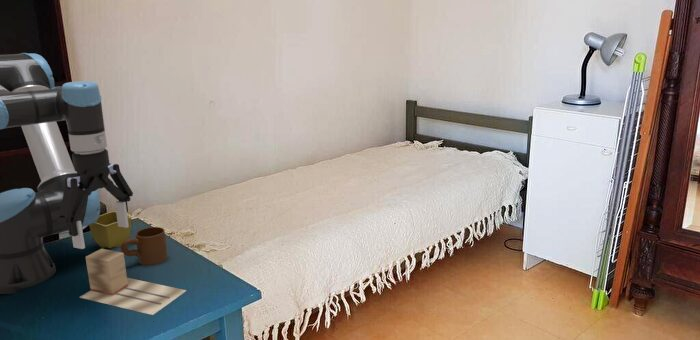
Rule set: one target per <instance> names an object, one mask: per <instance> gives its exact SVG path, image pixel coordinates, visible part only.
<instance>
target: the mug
mask: <svg viewBox="0 0 700 340" xmlns="http://www.w3.org/2000/svg"><path fill="white" fill-rule="evenodd" d="M128 245H134V246H135V245H136V249H128ZM120 252H122V253H124V256H126V257H136V258H138V263H139V265H142V266H147V267H148V266H156V265H160V264H163V263H164V262H166V261H167V260H168V258H169V257H168V247H167V236H166V232H165V229H164V228H163V227H161V226H160V227H159V226H150V227H144V228H141V229H139V230H138V231H136V233H135V238H133V237H131V238H130V237H129V239H126V240H125V241H123V243H122V244H121V247H120Z"/></svg>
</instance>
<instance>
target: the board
mask: <svg viewBox="0 0 700 340" xmlns="http://www.w3.org/2000/svg"><path fill="white" fill-rule="evenodd" d="M127 282H128V286H127V287H126V288H124V289H123V290H121V291H119V292H118V293H116V294H115V295H108V294H104V293H100V292H95V291H91V290H89V291H87V292H86V293H84V294H82V295H80V296H79V298H80V299H84V300H88V301H92V302H97V303H100V304H101V303H102V304H107V305H110V306H114V307H118V308H121V309H126V310H131V311H134V312H138V313H142V314H146V315H147V314H148V315H151V316H154V315H155V314H156V313H158V312H159V311H161V310H162V309H163V308H165V307H166V306H168V305H169V304H171V302H173V301H174V300H176V299H177V298H179V297H180V296H181V295H183V294H184V293H186V291H187V290H186V289H182V288H177V287H172V286H167V285H163V284H159V283H155V282H149V281H145V280H144V281H143V280H139V279H135V278H130V277H127Z"/></svg>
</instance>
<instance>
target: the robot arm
mask: <svg viewBox="0 0 700 340" xmlns="http://www.w3.org/2000/svg"><path fill="white" fill-rule="evenodd" d="M104 120H105V119H104V113H103V105H102V96H101V92H100V88H99V85H98V84H97V83H96V82H95V81H92V80H91V81H88V80H87V81H86V80H84V81H83V80H82V81H81V80H80V81H69V82H65V83H63V84H62V85H61V86H55V79H54V77H53V71H52V69H51V67H50V65H49V64H48V61H47V60H46V59H45V58H44V57H43V56H42V55H40V54H37V53H27V52H21V53H15V54H14V53H13V54H0V130H4V129H9V128H15V127H16V128H17V127H21V129H22V132H23V135H24V137H25V138H24V139H25V140H26V143H27V146H28V148H29V151H30V154H31V156H32V160H33V163H34V165H35V167H36V170H37V173H38V175H39V179H40V182H39V184H38V186H37V192H35V191H34V190H33V189H32V188H29V187H22V188H13V189H9V190H6V191H2V192H0V295H12V294H15V293H17V292H19V291H21V290H23V289H26V288H30V287H34V286H37V285H38V284H41V283H43V282H45V281H47V280H49V279H50V278H51V277H53V275H54V274H55V273H56V272H57V270H56V269H57V268H56V265H55V262H54V261H53V260H52V258H51V256H50V255H49V253H48V252H47V250H46V248H45V245H44V240H43V239H44V237H48V236H53V235H57V234H60V233H64V232H67V231H68V235H69V236H70V237H71V239H72V240H71V241H72V246H73V248H76V249H80V250H83V249H85V248H86V245H85V239H84V232H83V228H84V227H86V226H87V227H88V226H89V225H90V224H93V223H95V222H96V221H97V220H98V218H99V216H100V215H101V199H100V193H99V189H103V188H104V190H106V191H107V192H108V193H110V195H112V196H113V197H114V198H115V199H116V201H114V206H115V212H116V215H117V222H118V226H119V227H125V228H127V227H129V225H128V217H127V215H128V213H129V206H128V202H130V201H131V197H133V196H134V195H133V194H134V192H133V190H132V189H131V188H130V186H129V184H128V182H127V181H126V179H125V177H124V176H123V173H122V171H121V170H120V165H119V164H118V163H111V162H110V156H109V150H107V147H108V143H107V136H106V129H105V122H104ZM62 121H66V125H67V132H68V140H69V147H70V151H71V152H72V154H71V156H70V154H69V152H68V148H67V146H66V144H65V141H64V138H63V136H62V133H61V131H60V128H59V125H58V123H57V122H62ZM71 158H72V159H71ZM109 176H110V177H111V178H109ZM114 183H115V184H114Z"/></svg>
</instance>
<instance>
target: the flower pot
mask: <svg viewBox="0 0 700 340" xmlns="http://www.w3.org/2000/svg"><path fill="white" fill-rule="evenodd" d="M127 217H128V225H129V227H127V228H125V227H119V226H118V222H117V215H116V210H113V211H112V210H111V211H108V212H106V213H103V214H99V218H98V220H97V221H96V222H95V223H93V224H90V225H88V226H89V229H90V230H89V231H90V233H91V236H92V238H93V241H95V243H96V244H97V245H98V246H99V247H100V248H101V249H105V248H107V249H113V248H114V247H115V248H116V247H117V248H121V244H122V243H123V241H125V240H126V239H129V238H130V236H131V234H132V233H131V231H132V216H130V215H128V214H127Z"/></svg>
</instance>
